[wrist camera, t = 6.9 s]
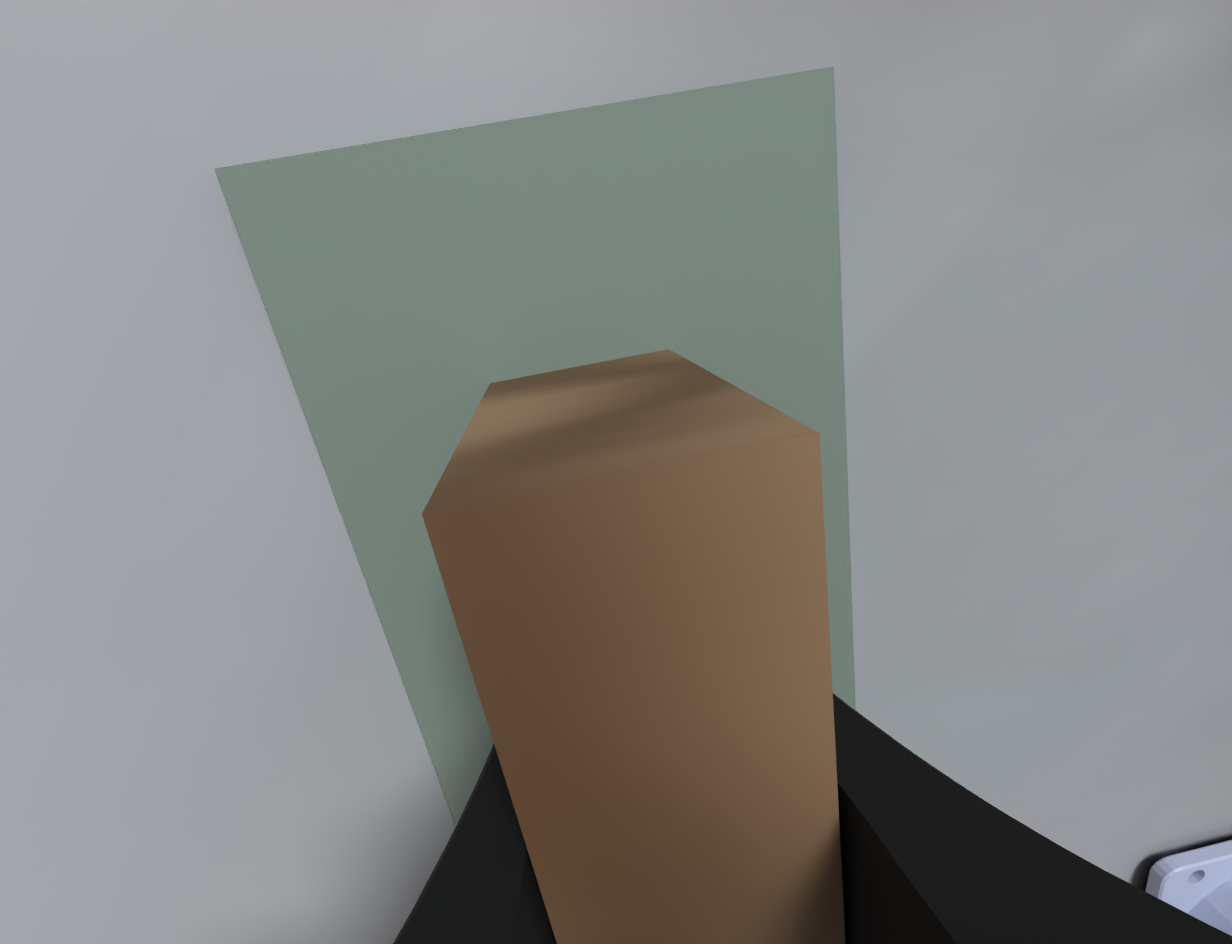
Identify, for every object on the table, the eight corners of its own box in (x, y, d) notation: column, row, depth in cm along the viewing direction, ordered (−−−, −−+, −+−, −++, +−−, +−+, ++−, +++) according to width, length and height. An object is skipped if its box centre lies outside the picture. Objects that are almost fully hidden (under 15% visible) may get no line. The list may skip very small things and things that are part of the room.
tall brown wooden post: (668, 348, 9) (819, 433, 4) (738, 853, 13) (859, 1211, 8) (489, 383, 9) (422, 514, 4) (614, 884, 13) (659, 1268, 8)
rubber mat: (821, 76, 9) (833, 66, 8) (853, 875, 15) (861, 891, 14) (229, 173, 8) (213, 168, 8) (512, 960, 14) (512, 979, 14)
